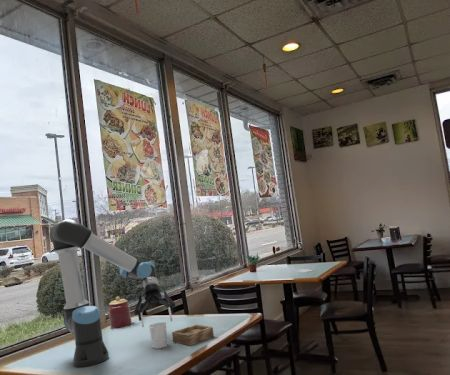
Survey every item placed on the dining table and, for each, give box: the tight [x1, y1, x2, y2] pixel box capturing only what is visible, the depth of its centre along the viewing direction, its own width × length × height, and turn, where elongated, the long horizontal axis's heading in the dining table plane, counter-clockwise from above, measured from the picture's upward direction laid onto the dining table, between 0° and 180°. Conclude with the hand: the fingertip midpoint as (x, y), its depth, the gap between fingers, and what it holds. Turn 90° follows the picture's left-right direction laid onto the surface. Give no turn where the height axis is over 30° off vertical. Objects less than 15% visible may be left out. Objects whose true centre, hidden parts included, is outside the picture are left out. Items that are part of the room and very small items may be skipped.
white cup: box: [148, 321, 168, 350], centre depth 189 cm, size 8×8×10 cm
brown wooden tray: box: [171, 324, 215, 346], centre depth 192 cm, size 14×14×4 cm
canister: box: [107, 296, 132, 329], centre depth 251 cm, size 13×13×18 cm
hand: (157, 322), depth 194 cm, fingers open, 13 cm apart
